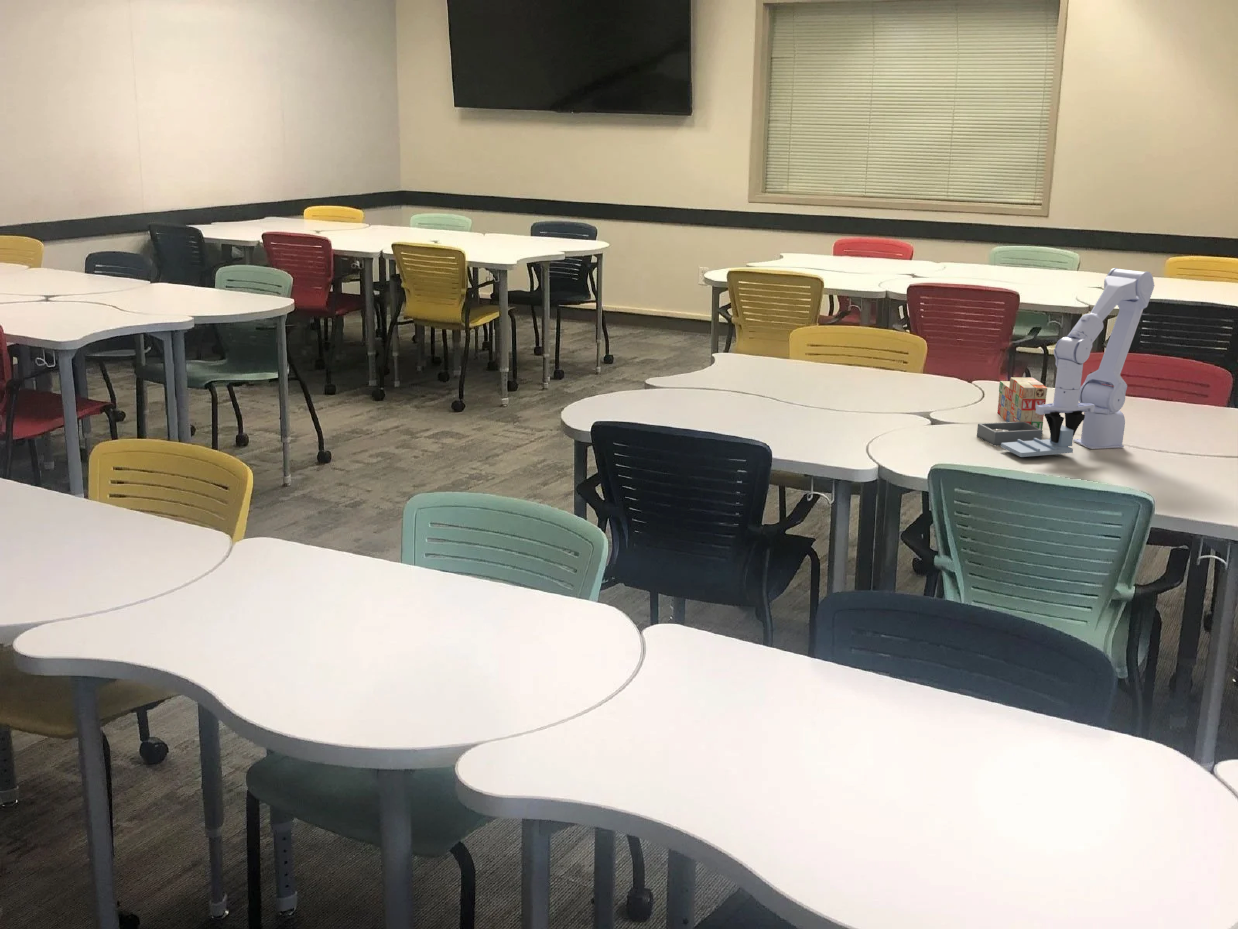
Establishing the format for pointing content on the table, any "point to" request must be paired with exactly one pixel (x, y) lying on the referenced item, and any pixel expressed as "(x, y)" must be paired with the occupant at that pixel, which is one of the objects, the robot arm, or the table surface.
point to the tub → (1007, 432)
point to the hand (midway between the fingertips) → (1061, 441)
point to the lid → (1042, 445)
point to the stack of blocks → (1021, 400)
